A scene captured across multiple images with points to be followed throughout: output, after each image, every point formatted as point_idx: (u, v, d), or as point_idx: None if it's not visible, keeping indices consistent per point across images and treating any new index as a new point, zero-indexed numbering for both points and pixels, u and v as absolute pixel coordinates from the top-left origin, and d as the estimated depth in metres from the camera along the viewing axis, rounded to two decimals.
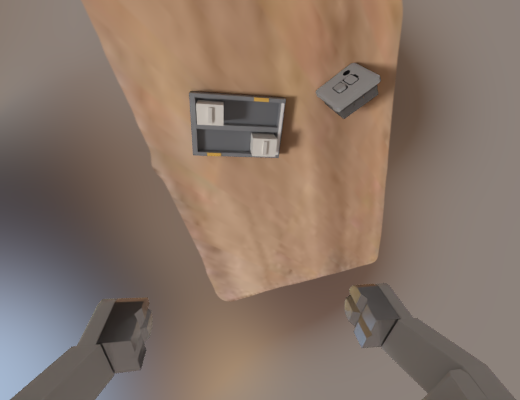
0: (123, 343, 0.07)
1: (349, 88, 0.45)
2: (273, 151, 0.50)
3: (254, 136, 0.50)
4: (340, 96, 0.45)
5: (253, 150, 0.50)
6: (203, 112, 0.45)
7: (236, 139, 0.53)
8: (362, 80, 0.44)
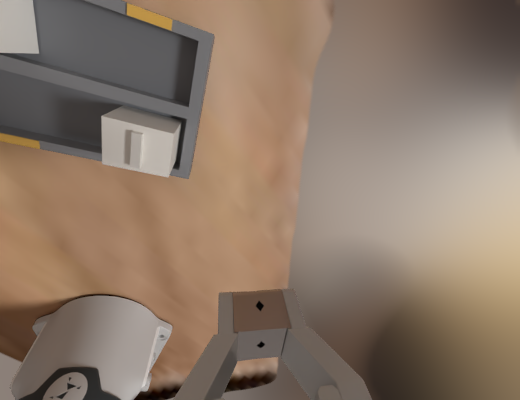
0: (255, 332, 0.08)
1: None
2: None
3: None
4: None
5: None
6: (152, 157, 0.19)
7: (85, 41, 0.18)
8: None
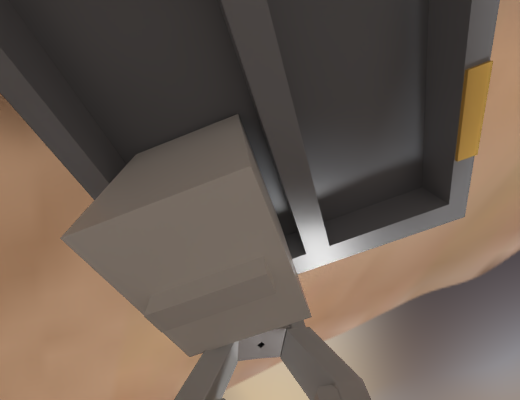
0: None
1: None
2: None
3: None
4: None
5: None
6: (215, 317, 0.06)
7: None
8: None
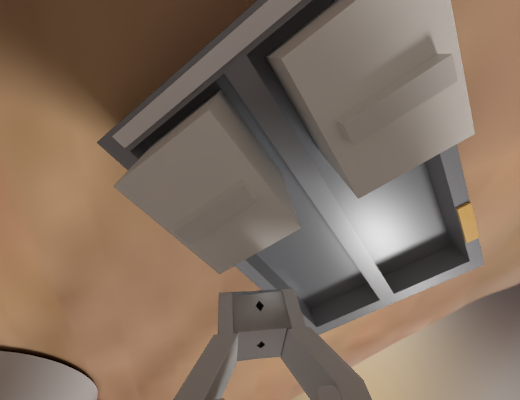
0: (256, 332, 0.08)
1: None
2: (397, 5, 0.05)
3: (336, 169, 0.09)
4: None
5: (431, 151, 0.07)
6: (226, 236, 0.09)
7: None
8: None
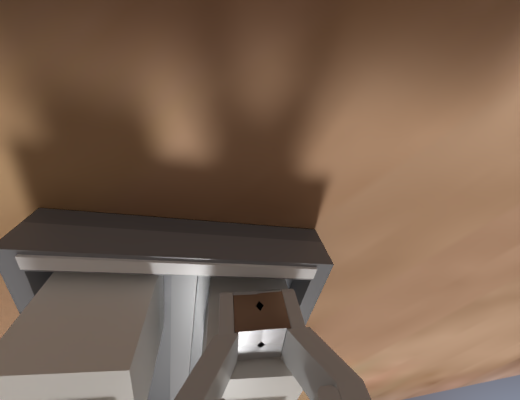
0: (256, 332, 0.08)
1: None
2: (279, 384, 0.09)
3: None
4: None
5: None
6: None
7: None
8: None
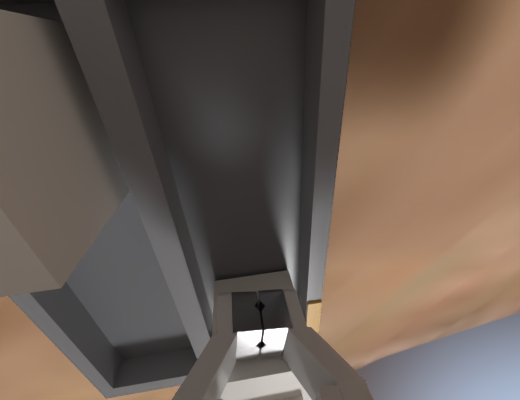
0: (255, 332, 0.08)
1: None
2: (287, 379, 0.09)
3: None
4: None
5: None
6: None
7: (244, 237, 0.11)
8: None
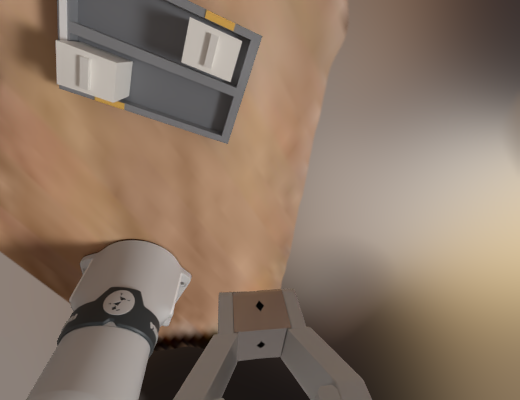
0: (256, 332, 0.08)
1: None
2: (194, 33, 0.22)
3: None
4: None
5: (236, 54, 0.23)
6: (99, 82, 0.23)
7: (168, 33, 0.26)
8: None
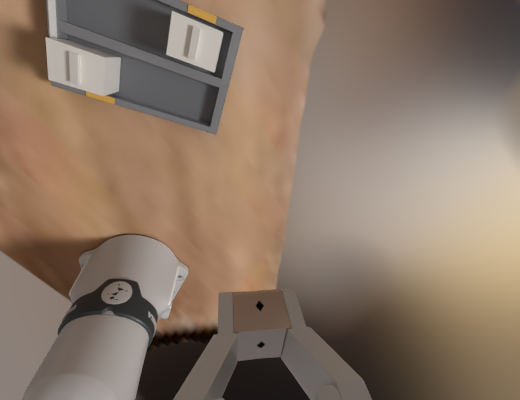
0: (255, 332, 0.08)
1: None
2: (176, 26, 0.23)
3: None
4: None
5: (218, 45, 0.25)
6: (89, 77, 0.25)
7: (154, 29, 0.27)
8: None
